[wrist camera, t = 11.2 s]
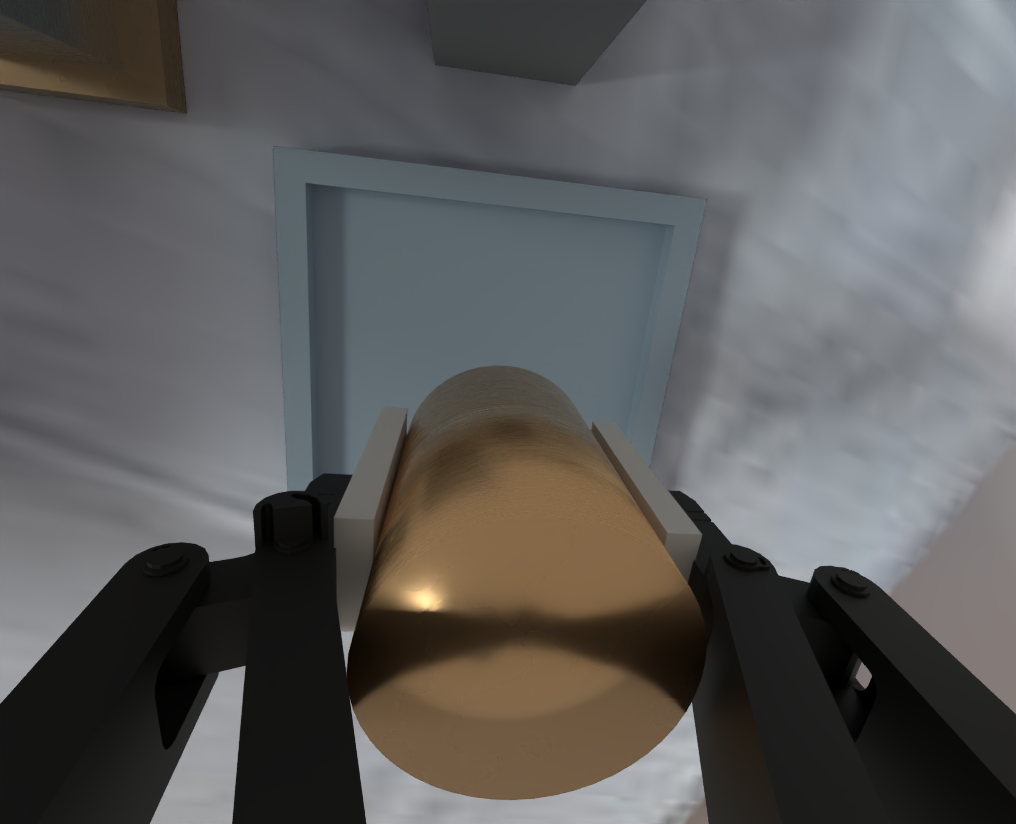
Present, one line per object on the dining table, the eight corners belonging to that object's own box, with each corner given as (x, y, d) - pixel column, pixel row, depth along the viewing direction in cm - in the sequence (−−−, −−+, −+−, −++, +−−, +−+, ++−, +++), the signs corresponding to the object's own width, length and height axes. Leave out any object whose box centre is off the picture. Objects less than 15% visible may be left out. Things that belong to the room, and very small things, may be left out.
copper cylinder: (572, 534, 18) (666, 797, 10) (402, 528, 18) (346, 802, 9) (599, 373, 16) (745, 527, 8) (409, 357, 16) (346, 508, 7)
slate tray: (620, 531, 30) (631, 551, 28) (301, 518, 28) (289, 539, 26) (687, 201, 24) (707, 199, 22) (288, 152, 22) (272, 145, 20)
